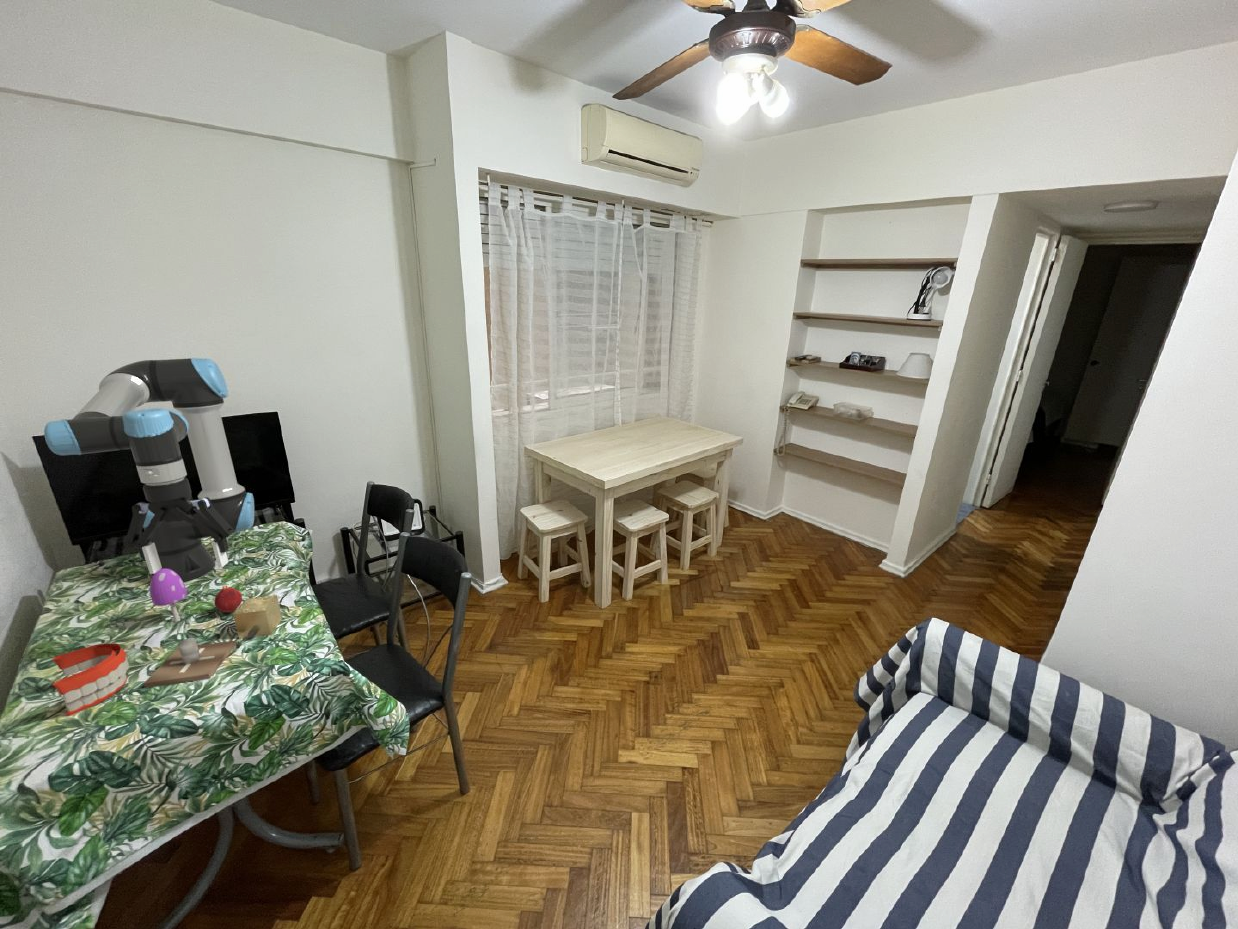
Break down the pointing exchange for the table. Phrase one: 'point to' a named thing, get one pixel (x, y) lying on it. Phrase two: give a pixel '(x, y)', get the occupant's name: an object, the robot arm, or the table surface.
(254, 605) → the block with peg
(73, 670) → the toy
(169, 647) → the table surface
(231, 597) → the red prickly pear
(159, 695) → the table surface
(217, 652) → the flat board
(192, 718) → the table surface
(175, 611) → the toy
